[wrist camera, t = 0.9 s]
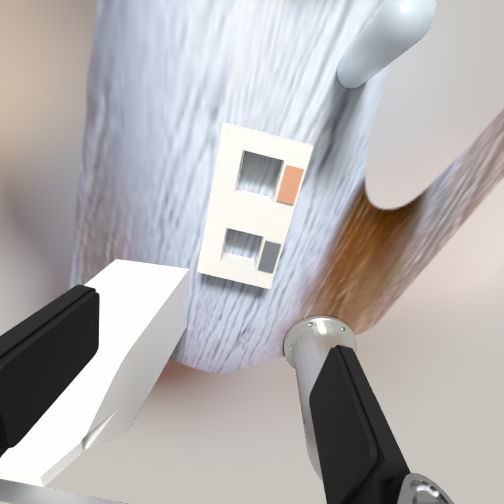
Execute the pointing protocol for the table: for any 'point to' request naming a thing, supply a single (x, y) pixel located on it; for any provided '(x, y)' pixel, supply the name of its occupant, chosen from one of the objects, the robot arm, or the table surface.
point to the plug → (385, 39)
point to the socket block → (251, 205)
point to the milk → (108, 369)
